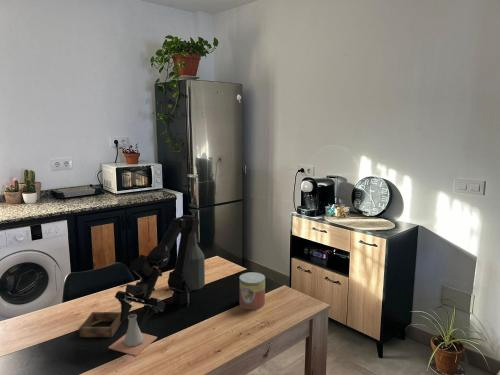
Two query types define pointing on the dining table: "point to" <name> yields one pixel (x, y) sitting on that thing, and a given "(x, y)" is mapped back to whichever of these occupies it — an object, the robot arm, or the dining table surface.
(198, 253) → the bottle
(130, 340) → the flask
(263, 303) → the canned food
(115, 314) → the walnut box
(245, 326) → the dining table surface
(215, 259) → the dining table surface
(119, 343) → the terracotta mat
